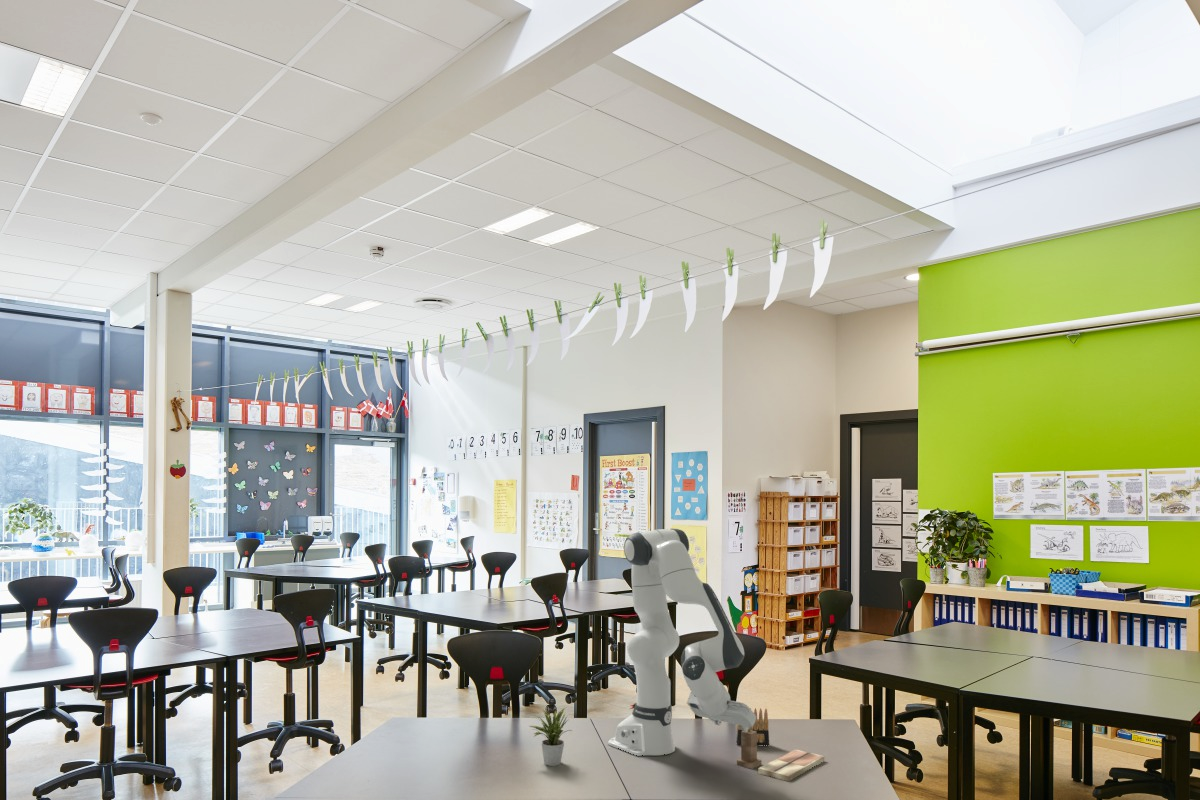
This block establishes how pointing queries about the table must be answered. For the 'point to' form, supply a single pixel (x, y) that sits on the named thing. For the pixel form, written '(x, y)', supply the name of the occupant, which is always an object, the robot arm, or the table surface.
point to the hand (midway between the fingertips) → (732, 726)
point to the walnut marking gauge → (749, 750)
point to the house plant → (552, 738)
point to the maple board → (791, 765)
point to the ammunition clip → (757, 729)
